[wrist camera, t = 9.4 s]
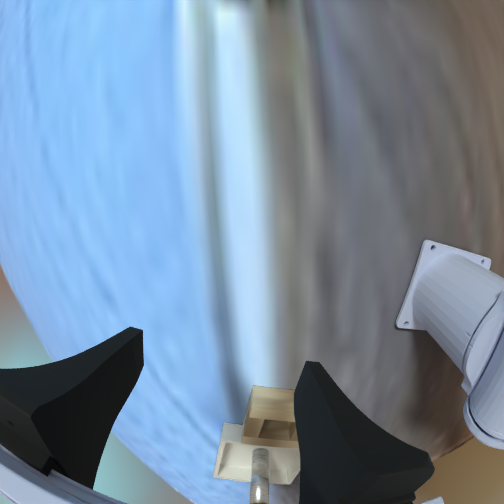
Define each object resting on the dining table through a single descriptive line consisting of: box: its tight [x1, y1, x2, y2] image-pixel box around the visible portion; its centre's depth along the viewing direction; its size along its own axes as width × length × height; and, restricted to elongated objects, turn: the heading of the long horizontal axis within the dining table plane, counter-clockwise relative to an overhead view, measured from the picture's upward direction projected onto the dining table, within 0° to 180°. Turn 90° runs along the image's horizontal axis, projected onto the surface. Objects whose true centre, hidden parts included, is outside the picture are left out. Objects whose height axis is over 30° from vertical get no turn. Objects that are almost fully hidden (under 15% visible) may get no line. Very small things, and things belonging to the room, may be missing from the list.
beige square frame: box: [241, 385, 299, 448], centre depth 24 cm, size 6×6×3 cm
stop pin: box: [250, 448, 269, 504], centre depth 23 cm, size 2×2×9 cm
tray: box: [213, 422, 300, 484], centre depth 26 cm, size 10×10×2 cm
